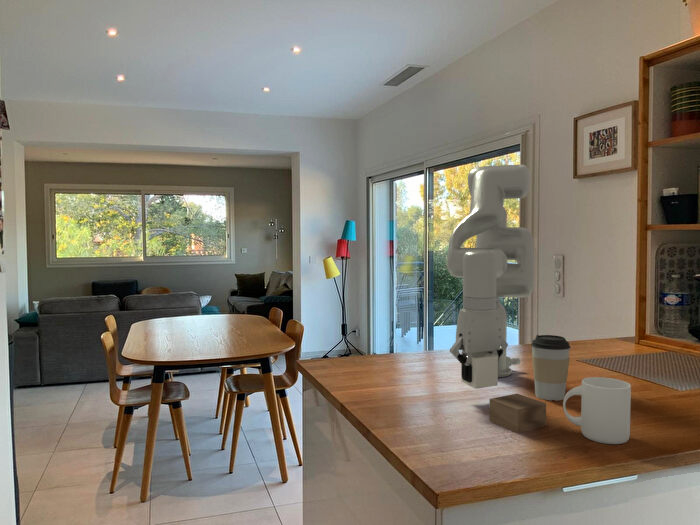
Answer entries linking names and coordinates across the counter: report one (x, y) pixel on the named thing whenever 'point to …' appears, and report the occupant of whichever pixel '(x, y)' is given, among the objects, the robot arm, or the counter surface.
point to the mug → (603, 409)
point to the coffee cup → (550, 366)
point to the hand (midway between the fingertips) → (479, 378)
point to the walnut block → (517, 412)
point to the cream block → (483, 370)
